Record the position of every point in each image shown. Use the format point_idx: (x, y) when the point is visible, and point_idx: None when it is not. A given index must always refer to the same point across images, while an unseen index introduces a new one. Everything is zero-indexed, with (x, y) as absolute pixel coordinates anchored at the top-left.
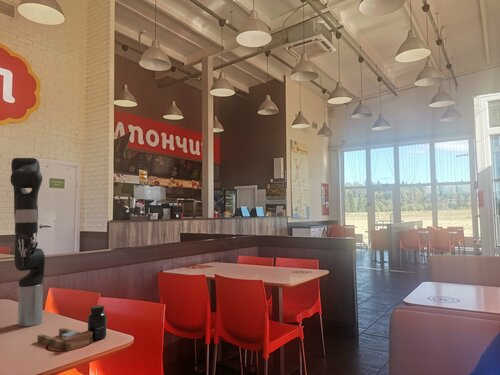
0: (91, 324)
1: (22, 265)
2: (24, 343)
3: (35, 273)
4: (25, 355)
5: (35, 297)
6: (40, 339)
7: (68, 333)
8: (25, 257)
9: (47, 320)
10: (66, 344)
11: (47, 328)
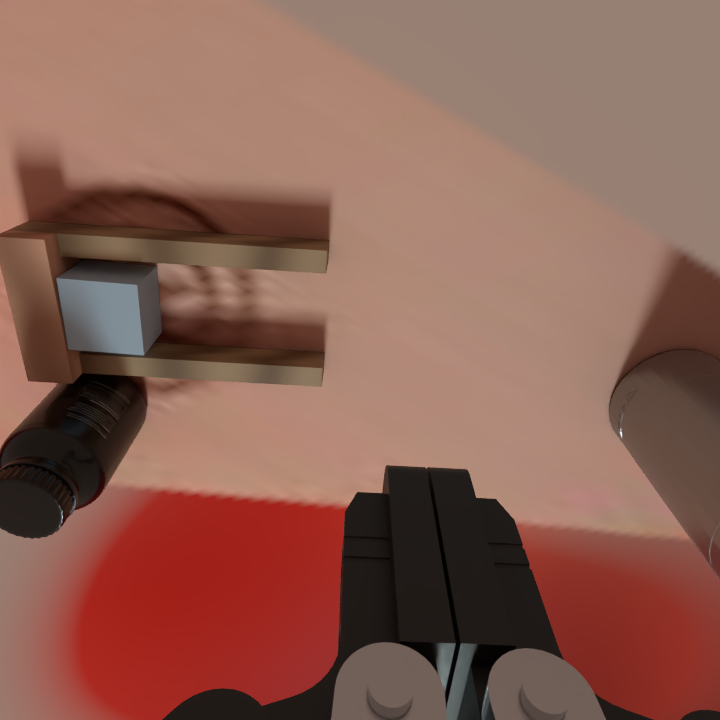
0: (42, 409)
1: (446, 472)
2: (374, 193)
3: None
4: (165, 75)
5: (695, 502)
6: (294, 243)
7: (122, 313)
8: (369, 647)
9: (620, 466)
10: (19, 230)
11: (492, 391)
